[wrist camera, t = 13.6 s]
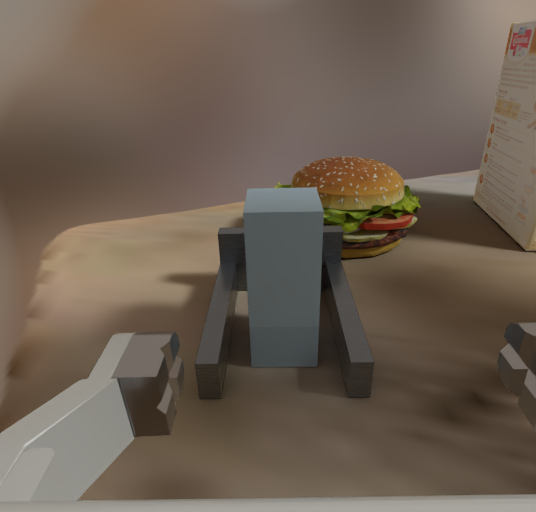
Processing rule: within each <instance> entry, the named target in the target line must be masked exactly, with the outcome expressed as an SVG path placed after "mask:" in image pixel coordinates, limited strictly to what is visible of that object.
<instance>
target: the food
mask: <svg viewBox="0 0 536 512" xmlns="http://www.w3.org/2000/svg"><path fill="white" fill-rule="evenodd" d="M310 187H316V188H317V191H318V195H319V198H320V201H321V204H322V207H323V210H324V221H323V226H341V228H342V230H343V241H342V256H341V257H342V258H355V257H367V256H376V255H379V254H381V253H384V252H387V251H390V250H392V249H393V248H394V247H396V246H397V245H399V243H400V241H401V239H402V238H404V237H406V234H407V230H408V227H411V226H412V225H413V224H414V223H415V222H416V221H417V217H415V216H413V213H418V212H417V209H418V208H417V207H420V208H421V206H420V204H419V197H418V196H416V195H412V193H411V191H410V189H409V187H408V186H407V185H406V186H404V181H403V179H402V177H401V176H400V175H399V174H398V173H397V172H396V171H395V170H394V169H392V168H391V167H389V166H387V165H385V164H384V163H382V162H379V161H375V160H373V159H364V158H358V157H351V156H350V157H348V156H347V157H335V158H334V157H332V158H325V159H322V160H317V161H315V162H313V163H310V164H309V165H306V166H305V167H303V168H301V169H300V170H299V171H298V172H297V173H296V174H295V175H294V177H293V181H292V183H291V185H281V184H280V182H278V184H277V185H276V186H275V187H274V188H310Z"/></svg>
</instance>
